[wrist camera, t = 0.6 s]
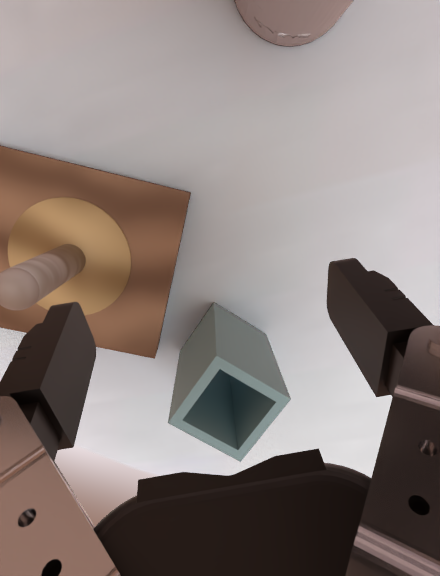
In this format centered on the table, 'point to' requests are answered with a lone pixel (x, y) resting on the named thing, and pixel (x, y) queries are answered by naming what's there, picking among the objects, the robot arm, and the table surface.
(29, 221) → the peg board
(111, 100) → the table surface
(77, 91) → the table surface
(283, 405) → the collar
